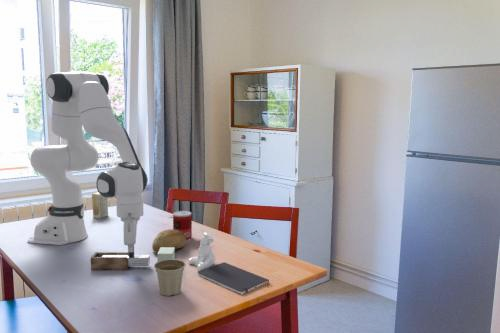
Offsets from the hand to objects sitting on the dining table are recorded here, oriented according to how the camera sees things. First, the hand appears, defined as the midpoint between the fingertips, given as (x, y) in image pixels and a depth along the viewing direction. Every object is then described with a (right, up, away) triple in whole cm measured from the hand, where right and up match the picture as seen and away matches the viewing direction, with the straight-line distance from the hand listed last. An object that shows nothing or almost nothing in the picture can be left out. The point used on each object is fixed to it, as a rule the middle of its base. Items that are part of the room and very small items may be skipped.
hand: (131, 249), depth 147 cm
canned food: (+13, -2, +33) cm, 36 cm away
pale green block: (+11, -7, +1) cm, 13 cm away
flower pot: (+17, -10, -17) cm, 26 cm away
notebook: (+35, -9, -7) cm, 37 cm away
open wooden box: (-7, -6, +1) cm, 10 cm away
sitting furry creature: (+25, -7, +4) cm, 26 cm away
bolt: (-2, -5, +1) cm, 6 cm away
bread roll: (+10, -4, +19) cm, 22 cm away
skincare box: (-33, +3, +64) cm, 72 cm away
